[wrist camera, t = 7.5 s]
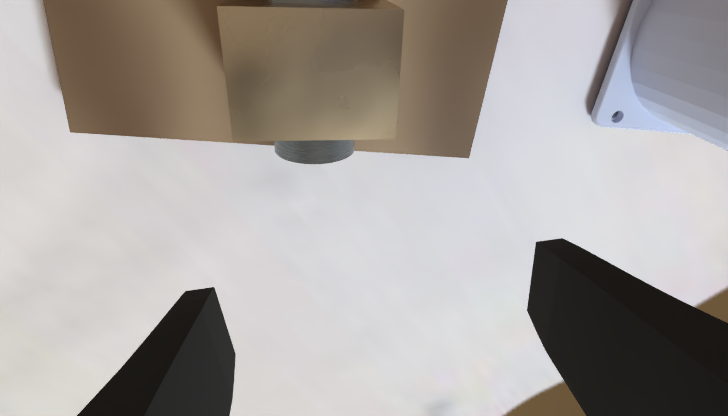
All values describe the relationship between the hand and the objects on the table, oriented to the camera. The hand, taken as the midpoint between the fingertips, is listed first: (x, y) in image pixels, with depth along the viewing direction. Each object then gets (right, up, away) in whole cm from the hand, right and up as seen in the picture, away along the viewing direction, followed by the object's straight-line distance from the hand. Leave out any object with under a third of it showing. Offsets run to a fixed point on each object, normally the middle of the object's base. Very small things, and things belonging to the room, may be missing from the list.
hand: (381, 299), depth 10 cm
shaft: (-2, +9, +5) cm, 10 cm away
